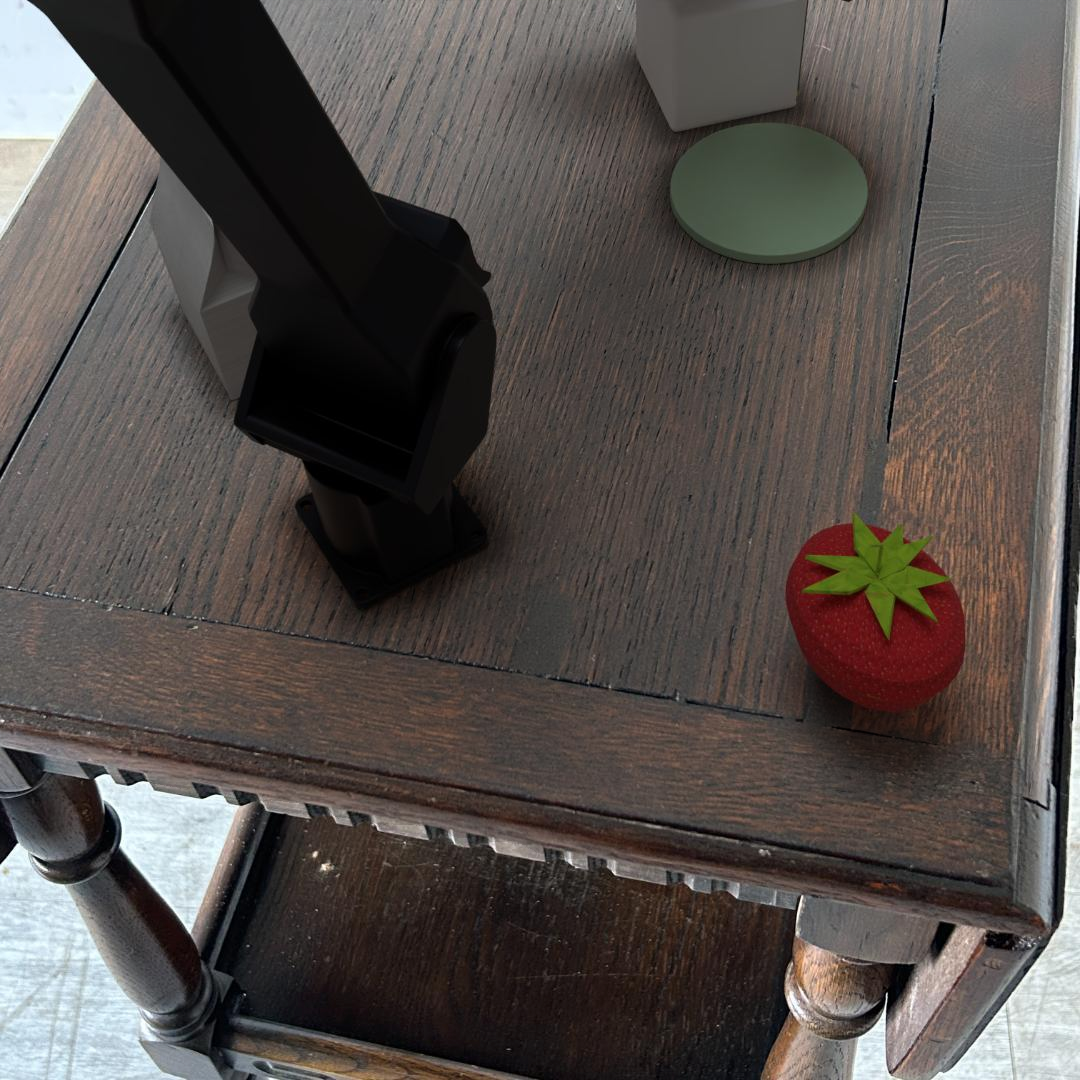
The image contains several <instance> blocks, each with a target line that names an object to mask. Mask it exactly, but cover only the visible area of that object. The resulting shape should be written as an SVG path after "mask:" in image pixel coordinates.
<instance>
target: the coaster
mask: <svg viewBox="0 0 1080 1080" xmlns="http://www.w3.org/2000/svg"><path fill="white" fill-rule="evenodd" d="M868 197H869V187H868V181H867V178H866V175H865V172H864V170H863V168H862V166H861V164H860V163H859V161H858V160H857V159H856V157H855V156H854V155H853V154H852V153H851V152H850V151H849V150H848V149H847V148H845V146H843V145H842V144H840V143H839V142H838V141H836V140H834V139H832V138H831V137H829V136H827V135H825V134H823V133H821V132H818V131H816V130H814V129H813V130H812V129H809V128H806V127H803V126H799V125H794V124H788V123H782V122H781V123H780V122H754V123H744V124H739V125H734V126H730V127H727V128H723V129H721V130H718V131H715V132H713V133H710V134H709V135H707V136H705V137H703V138H702V139H700V140H698V141H697V142H695V143H694V144H693V145H692V146H691V147H689V148H688V149H687V150H686V151H685V152H684V153H683V155H682V156H680V158H679V159H678V161H677V163H676V165H675V166H674V169H673V170H672V174H671V177H670V183H669V201H670V205H671V210H672V213H673V215H674V218H675V219H676V221H677V223H678V224H679V225H680V227H681V228H682V229H683V231H685V233H686V234H687V235H688V236H690V237H691V238H692V239H693V240H694V241H696V242H697V243H698V244H700V245H701V246H702V247H704V248H706V249H708V250H710V251H712V252H714V253H715V254H716V253H717V254H719V255H722V256H724V257H726V258H730V259H734V260H737V261H741V262H746V263H752V264H753V263H754V264H766V265H767V264H769V265H770V264H771V265H772V264H773V265H774V264H775V265H776V264H777V265H778V264H789V263H794V262H800V261H805V260H808V259H812V258H814V257H818V256H820V255H823V254H825V253H827V252H829V251H831V250H833V249H835V248H837V247H838V246H839V245H841V244H842V243H844V241H846V240H847V239H848V238H849V237H850V236H851V235H852V234H854V232H855V231H856V229H857V228H858V227H859V225H860V224H861V222H862V219H863V217H864V215H865V213H866V208H867V203H868Z"/></svg>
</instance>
